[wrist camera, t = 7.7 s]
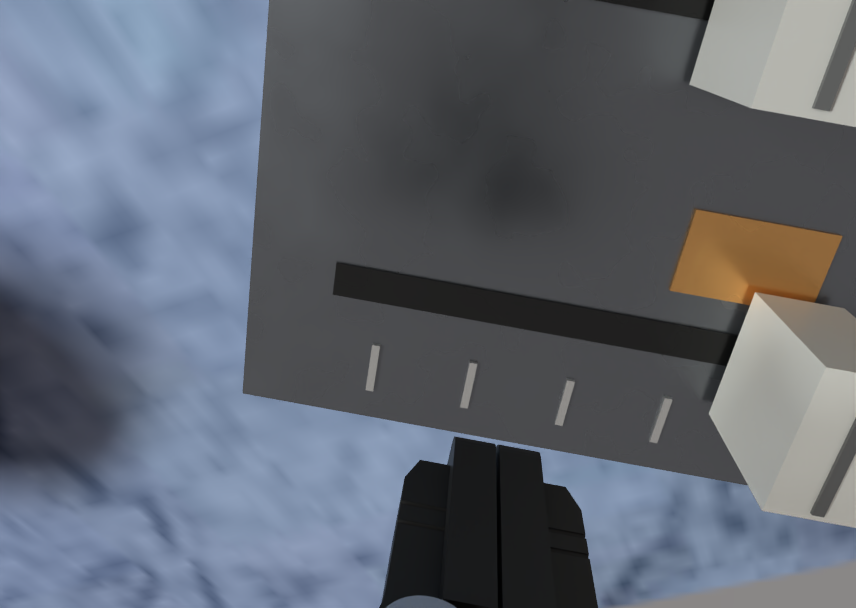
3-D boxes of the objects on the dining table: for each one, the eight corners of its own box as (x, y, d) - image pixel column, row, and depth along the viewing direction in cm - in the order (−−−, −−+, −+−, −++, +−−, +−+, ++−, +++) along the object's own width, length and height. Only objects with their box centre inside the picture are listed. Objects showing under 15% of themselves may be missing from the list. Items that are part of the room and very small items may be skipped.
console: (311, -278, 17) (289, -315, 15) (1121, -134, 17) (1204, -152, 15) (261, 363, 24) (241, 394, 22) (831, 467, 24) (861, 508, 22)
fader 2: (755, 292, 19) (828, 369, 15) (844, 308, 19) (941, 390, 15) (708, 413, 21) (763, 513, 17) (790, 428, 21) (865, 532, 17)
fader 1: (744, -98, 16) (835, -134, 12) (853, -79, 16) (983, -108, 12) (689, 84, 17) (753, 108, 13) (788, 102, 17) (882, 132, 13)
